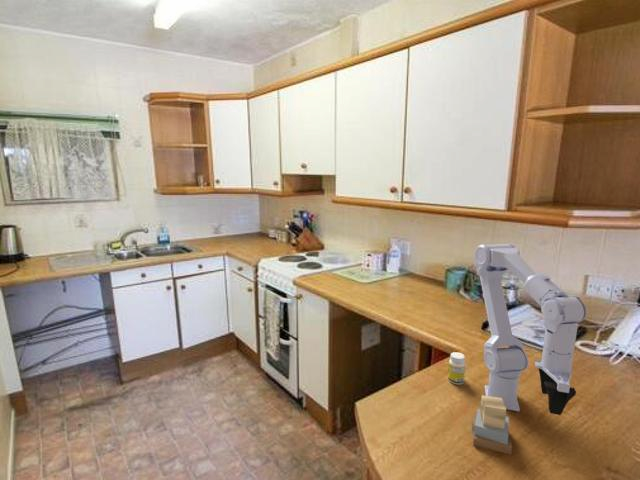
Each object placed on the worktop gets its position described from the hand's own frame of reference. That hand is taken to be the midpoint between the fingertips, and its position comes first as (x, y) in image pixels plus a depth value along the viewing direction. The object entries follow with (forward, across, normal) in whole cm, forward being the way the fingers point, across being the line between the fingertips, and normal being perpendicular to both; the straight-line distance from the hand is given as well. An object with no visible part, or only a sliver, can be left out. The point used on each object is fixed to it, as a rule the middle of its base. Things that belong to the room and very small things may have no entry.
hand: (550, 403), depth 84 cm
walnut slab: (+11, +3, -12) cm, 17 cm away
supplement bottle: (+11, -20, -20) cm, 30 cm away
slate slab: (+8, +3, -12) cm, 15 cm away
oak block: (+6, +3, -12) cm, 14 cm away
